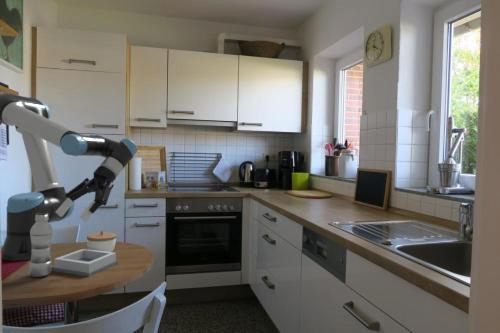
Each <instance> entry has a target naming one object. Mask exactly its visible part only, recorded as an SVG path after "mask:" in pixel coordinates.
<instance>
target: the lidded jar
mask: <svg viewBox="0 0 500 333" xmlns="http://www.w3.org/2000/svg"><path fill="white" fill-rule="evenodd" d="M86 239H87V240H86V243H87V244H86V245H87V249H90V250H98V251H105V252H113V251H114V249H115V246H116V243H117V242H116V241H117V234H116V233H113V232H108V231H107V232H106V231H104V230H100V232H93V233H89V234H88V235H86Z"/></svg>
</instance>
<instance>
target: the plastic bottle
mask: <svg viewBox="0 0 500 333" xmlns="http://www.w3.org/2000/svg"><path fill="white" fill-rule="evenodd" d="M47 220H49V218H48V214H36V215H35V221H36V223H35V224H34V225H33V226H32V228H31V230H30V236H31V247H32V253H31V259H30V262H29V266H28V273H29V275H30V276H31V277H34V278H35V277H36V278H41V277H45V276H47V275H49V274H50V273H51V272H52V267H53V265H52V264H53V262H52V260H51V259H52V258H51V257H52V256H51V247H52V246H51V244H52V237H53V227H52V225H51V224H50V223H48V221H47Z"/></svg>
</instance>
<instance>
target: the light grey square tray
mask: <svg viewBox="0 0 500 333" xmlns="http://www.w3.org/2000/svg"><path fill="white" fill-rule="evenodd" d="M116 259H117V253H116V252H113V251H112V252H105V251H98V250H90V249H88V248H82V249H79V250H76V251H73V252H70V253H68V254H64V255H61V256H58V257H55V258H54V259H53V261H54V262H53V266H52V269H51V272H58V273H64V274H71V275H76V276H77V275H78V276H83V277H91V276H93V275H96V274H97V273H100V272H102V271H104V270H107V269H109V268H111V267H112V266H113V267H114V266H115V265H117V264H118V262H119V261H118V260H116Z"/></svg>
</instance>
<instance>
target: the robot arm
mask: <svg viewBox="0 0 500 333" xmlns="http://www.w3.org/2000/svg"><path fill="white" fill-rule="evenodd" d="M50 118H51V111H50V107H49V106H48V105H47V103H45V102H44V101H43V100H40V99H37V98H34V97H28V96H27V97H26V96H22V95H17V94H13V93H2V94H0V122H1V123H3V124H5V125H7V126H10V127H14V128H15V132H17V133H19V134H20V135H21V137H22V138H21V139H22V140H23V145H24V148H25V151H26V155H27V159H28V164H29V168H30V170H31V174H32V178H33V182H34V187H35V190H34V191H33V192H32V191H31V192H26V193H25V192H22V193H17V194H14V195H11V196H10V197H8V199H7V202H6V203H7V206H6V207H5V208H6V237H5V240H4V243H3V245H2V247H1V250H2V259H1V260H4V261H14V262H18V261H28V260H31V253H32V247H31V236H30V230H31V228H32V226H33V225H34V224H35V223H36V221H35V215H36V214H48V218H49V220H47V221H48V223H49V224H50V223H53V222H54V223H55V222H60V221H63V220H66V219H67V218H69V217H70V216H71V215H72V213H73V211H74V209H75V201H76V200H78V199H80V198H82V197H83V196H85V195H86V194H90V193H94V199H93V200H92V201H91V203H89V205H88V206H87V207H86V209H85V210H84V211H83V212H82V213H81V215H80V216H79V218H80V219H81V220H82V221H84V222H85V223H87V222H88V220H89V219H90V218H91V217H92V215H93V214H94V213H95V212H96V211H97V210H98V209H99V207H101V206H103V207H104V206H106V205H107V203H108V200H109V198H110V194H111V191H112V189H113V188H114V186H115V184H113V183H114V182H115V180H116V179H117V177H119V175H120V173H121V172H122V171H123V170H124V169H125V167H126V166H127V165H128V163H129V162H130V161H131V160H132V159H134V157H135V155H136V154H137V153H138V146H137V144H136V143H135V142H134V141H133V140H131V139H130V138H123V139H121V140H119V141H117V140H113V139H109V138H107V137H104V136H102V135H98V134H95V133H94V134H90V135H86V134H85V135H84V134H82V133H81V134H80V133H79V132H77V131H74V130H72V129H70V128H68V127H66V126H64V125H61V124H59V123H57V122H55V121H54V120H51V119H50ZM49 143H50V144H51V145H55V146H56V147H59V148H60V149H61V150H62V152H63V153H64V154H65V155H68V156H74V157H78V156H79V157H80V156H81V157H83V156H85V157H87V156H89V157H91V156H92V157H95V156H97V157H98V156H99V157H102V158H105V159H104V160H103V161H102V162H101V163H100V164H99V166H98V167H97V168H96V169H95V171H93V178H91V179H89V178H88V177H86V178H84V180H83V181H82V182H80V183H79V184H77V185H76V186H75V187H73V188H72V189H70V190H69V191H68V192H66V189H65V186H64V185H62V184H60V181H59V179H58V175H57V171H56V167H55V164H54V160H53V156H52V152H51V148H50V146H49ZM1 250H0V251H1Z"/></svg>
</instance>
